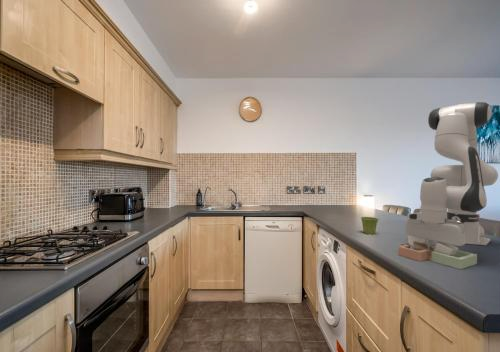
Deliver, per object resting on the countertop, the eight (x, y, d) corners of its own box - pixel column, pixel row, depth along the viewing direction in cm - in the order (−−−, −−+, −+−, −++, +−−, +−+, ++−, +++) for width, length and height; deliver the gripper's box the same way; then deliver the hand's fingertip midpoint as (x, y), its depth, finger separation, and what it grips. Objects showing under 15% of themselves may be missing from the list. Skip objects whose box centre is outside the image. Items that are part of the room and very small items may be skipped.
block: (439, 253, 98) (443, 241, 96) (453, 260, 94) (458, 248, 92) (432, 254, 96) (437, 242, 94) (446, 262, 91) (451, 250, 90)
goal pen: (447, 256, 99) (447, 247, 99) (477, 263, 90) (477, 254, 90) (431, 261, 93) (431, 252, 93) (460, 269, 85) (461, 259, 85)
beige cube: (427, 247, 111) (427, 232, 111) (410, 246, 112) (410, 231, 112) (420, 243, 118) (420, 229, 118) (404, 242, 119) (404, 228, 119)
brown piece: (415, 248, 109) (415, 241, 109) (446, 256, 98) (446, 248, 98) (401, 251, 104) (401, 243, 104) (432, 260, 93) (432, 251, 93)
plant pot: (375, 231, 143) (376, 217, 143) (380, 235, 133) (380, 219, 133) (358, 230, 145) (359, 216, 145) (362, 234, 135) (362, 219, 135)
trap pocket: (405, 253, 102) (405, 244, 102) (427, 259, 95) (427, 250, 95) (398, 254, 100) (398, 246, 100) (420, 261, 93) (420, 252, 93)
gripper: (469, 221, 90) (468, 258, 90) (411, 213, 108) (411, 244, 108) (460, 222, 87) (460, 260, 87) (403, 214, 105) (402, 245, 105)
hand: (432, 251), depth 98 cm, fingers closed
